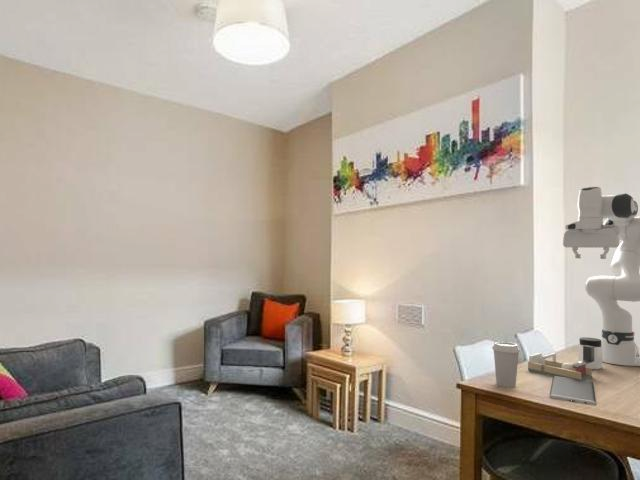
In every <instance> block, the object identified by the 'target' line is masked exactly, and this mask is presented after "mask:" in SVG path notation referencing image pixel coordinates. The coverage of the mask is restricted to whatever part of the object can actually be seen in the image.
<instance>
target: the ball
mask: <svg viewBox="0 0 640 480" xmlns="http://www.w3.org/2000/svg"><path fill="white" fill-rule="evenodd" d="M563 363H564V364H562V366H561V368H562V369H567V370H573V367H572V365H573V364H571V363H569V362H563Z"/></svg>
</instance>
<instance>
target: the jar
mask: <svg viewBox="0 0 640 480" xmlns="http://www.w3.org/2000/svg"><path fill="white" fill-rule="evenodd" d="M585 345H588V346H594V362H592V363H589V364H586V367H587V368H592V370H599V369H600V370H601V369H603V368H604V367H603V358H602V346H601V339H599V338H595V337H587V336H586V337H585V336H584V337H583V336H582V337H580V338H579V343H578V346H577V347H578V350H577V351H578V354H577V355H578V356H577V360H578V361H577V363H578V362H581V361H583V346H585Z"/></svg>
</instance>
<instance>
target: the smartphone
mask: <svg viewBox="0 0 640 480" xmlns="http://www.w3.org/2000/svg"><path fill="white" fill-rule="evenodd" d="M549 398H550V399H553V400H554V399H555V400H559V401H560V400H561V401H567V402H574V403H578V404H579V403H580V404H584V405H585V404H586V405H593V406H596V405H597V401H596V394H595V386H594V381H592V380H579V379H572V378H565V377H558V376H552V381H551V387H550V392H549ZM571 400H572V401H571Z"/></svg>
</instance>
